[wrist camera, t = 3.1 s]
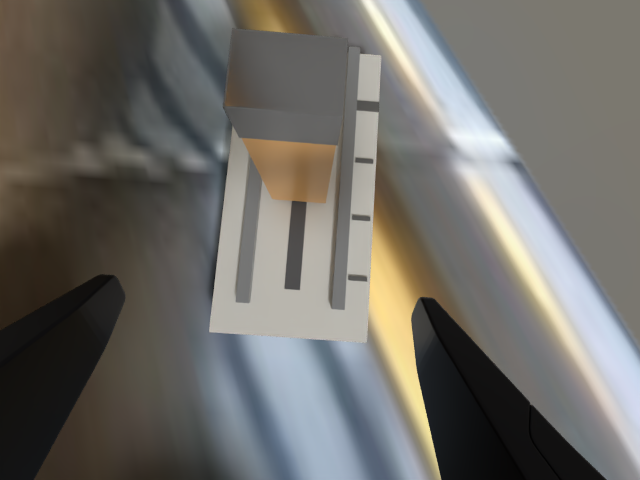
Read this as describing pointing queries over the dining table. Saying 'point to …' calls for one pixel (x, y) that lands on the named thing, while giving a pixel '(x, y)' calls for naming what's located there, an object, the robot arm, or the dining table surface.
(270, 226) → the dimmer console
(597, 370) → the dining table surface
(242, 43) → the fader lever
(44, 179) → the dining table surface
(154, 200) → the dining table surface
